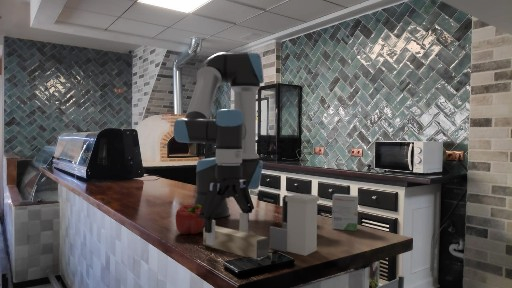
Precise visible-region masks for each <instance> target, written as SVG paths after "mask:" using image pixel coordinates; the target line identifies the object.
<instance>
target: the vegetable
mask: <svg viewBox="0 0 512 288" xmlns="http://www.w3.org/2000/svg"><path fill="white" fill-rule="evenodd" d="M201 208H202V206H201V205H198V204H196V205H194V204H193V205H191V204H183V205H180V206H179V208H178V209H177V210H176V213H175V226H176V229H177V231H178V232H179V233H180V234H182V235H188V234H190V235H196V234H198V233H200V232H201V230H203V228H204V227H205V220H203V219H200V218H199V213H200V211H201Z"/></svg>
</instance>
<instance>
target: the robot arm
mask: <svg viewBox="0 0 512 288" xmlns="http://www.w3.org/2000/svg"><path fill="white" fill-rule="evenodd" d="M195 76H196V78H195V79H196V83H195V87H194V90H193V93H192V95H191V99H190V102H189V105H188V108H187V111H186V113H185V116H184V118H183V117H181V118H177V119H175V121H174V123H173V137H174V139H175V141H176V142H178V143H186V144H215V157H210V158H209V157H208V158H203V159H200V160H198V161H197V163H196V170H195V173H196V175H195V176H196V178H195V180H196V183H195V184H196V187H195V188H196V189H195V190H196V191H195V192H196V194H195V199H194V203H193V206H194V205H196V204H198V205H201V206H202V208H201V211H200V213H199V218H200V219H203V220H205V224H204V227H205V232H206V244H208V245H212V246H214V245H215V226H216V220H214V219H220V218H225V217H228V216H229V215H230V208H229V207H230V206H228V201H227V199H229V198H233V199H234V201H235V202H236V204H237V206H238V207H239V209H240V211H241V212H239V223H238V224H239V225H238V226H239V229H238V231H240V232H245V233H249V222H250V214H253V210H254V209H255V207H254V206H255V205H254V203H253V199H252V196H251V193H250V190H251V191H252V190H253V191H254V190H258V189H259V188H260V185H261V178H262V171H263V166H264V165H263V164H264V162H263V160H260V156H259V154H258V153H257V152H256V151H257V150H256V148H257V147H256V145H257V144H256V143H257V142H256V141H257V140H256V138H257V136H256V134H257V133H256V131H257V92H258V90H259V89H260V88H261V84H263V83H264V81H265V80H264V70H263V63H262V57H261V55H260V54H259V53H258V52H249V51H246V52H243V51H242V52H217V53H216V54H213V55H211V56H210V57H208V58H207V59H206V60H204V62H203V63H201V64H200V66H199V68H198V69H197V71H196V75H195ZM223 83H224V84H230V89H231V90H232V91H233V92H234V93H233V96H234V97H233V98H234V99H233V102H234V108H233V109H230V108H227V109H226V108H225V109H218V110H217V112H216V115H215V117H216V118H210V117H211V113H212V108H213V104H214V102H215V101H214V100H215V96H216V93H217V89H218V88H219V87H220V86H221V84H223Z"/></svg>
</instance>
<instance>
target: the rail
mask: <svg viewBox="0 0 512 288" xmlns="http://www.w3.org/2000/svg"><path fill="white" fill-rule="evenodd" d="M202 230H203V238H202V239H203V241H202V243H203V245H204V246H206V247H210V248H214V249H217V250H220V251H221V250H222V251H224V252H227V253H232V254H235V255H238V256H241V257H245V258H248V257H256V258H261V257H264V256H266V255H268V256H269V238H270V237H267V236H261V235H257V234H253V233H250V232H248V233H245V232H240V231H239V230H235V229H233V228H232V229H231V228H227V227H222V226H218V225H215V245H214V246H212V245H208V244H206V232H205V226H203V228H202ZM203 245H202V246H203Z"/></svg>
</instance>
